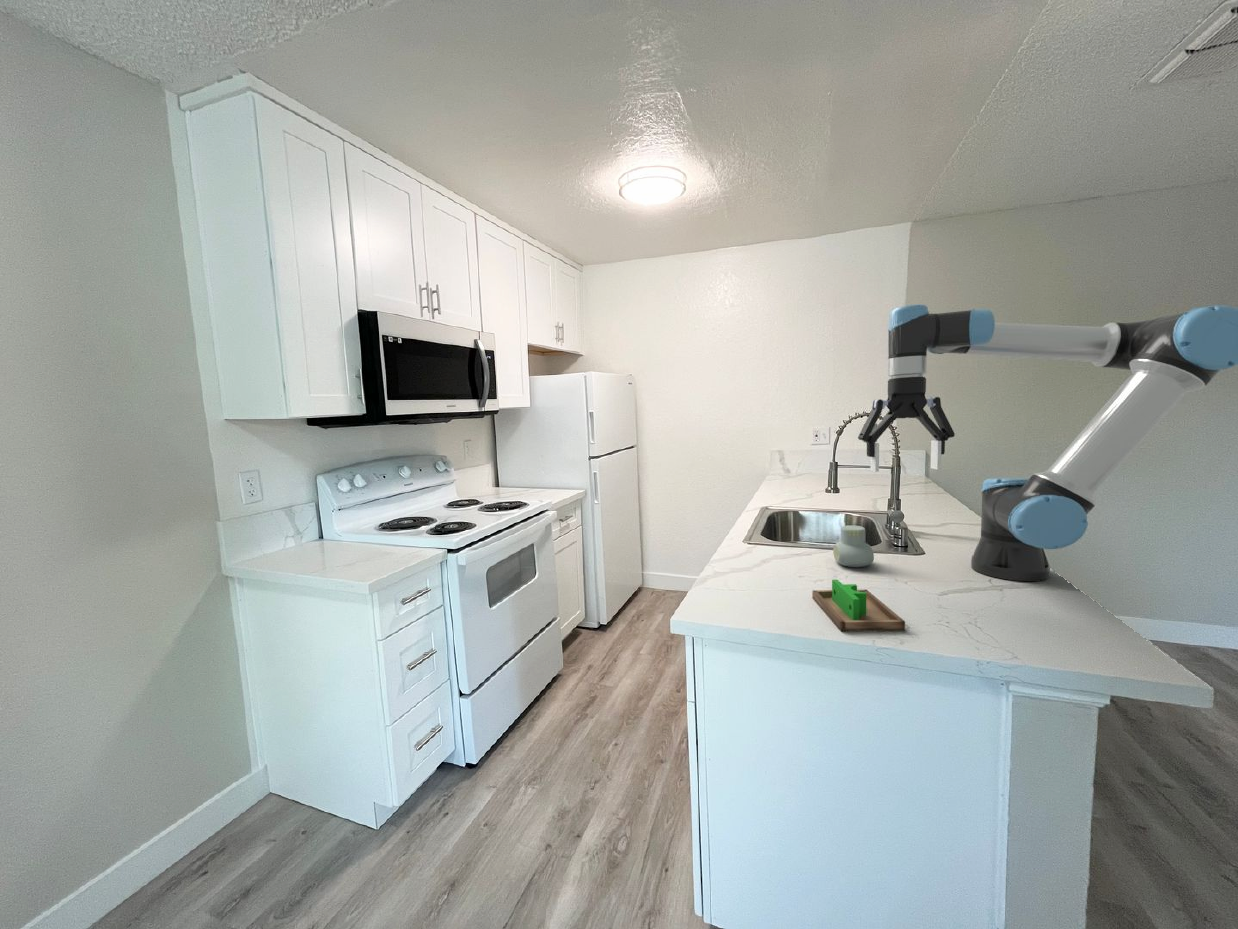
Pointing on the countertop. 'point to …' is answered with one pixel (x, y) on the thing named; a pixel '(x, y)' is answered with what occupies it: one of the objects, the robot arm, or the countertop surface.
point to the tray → (874, 619)
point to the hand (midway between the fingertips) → (904, 470)
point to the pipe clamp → (849, 599)
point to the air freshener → (853, 548)
